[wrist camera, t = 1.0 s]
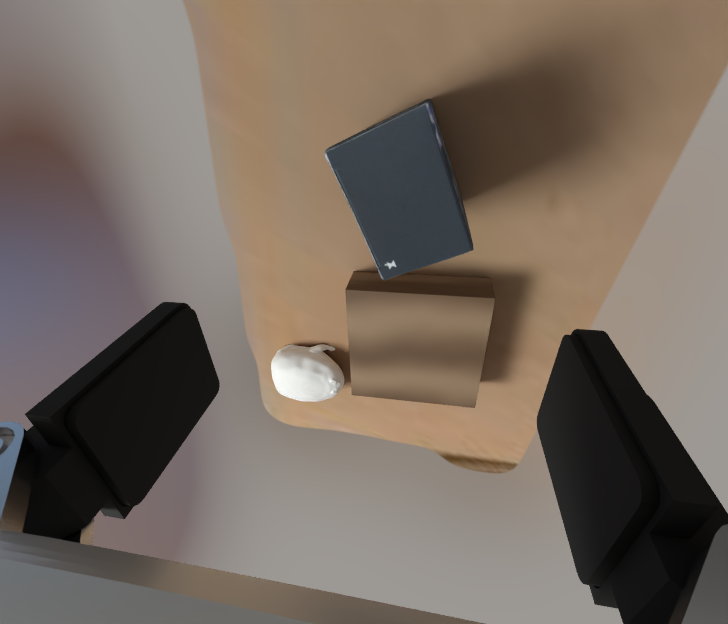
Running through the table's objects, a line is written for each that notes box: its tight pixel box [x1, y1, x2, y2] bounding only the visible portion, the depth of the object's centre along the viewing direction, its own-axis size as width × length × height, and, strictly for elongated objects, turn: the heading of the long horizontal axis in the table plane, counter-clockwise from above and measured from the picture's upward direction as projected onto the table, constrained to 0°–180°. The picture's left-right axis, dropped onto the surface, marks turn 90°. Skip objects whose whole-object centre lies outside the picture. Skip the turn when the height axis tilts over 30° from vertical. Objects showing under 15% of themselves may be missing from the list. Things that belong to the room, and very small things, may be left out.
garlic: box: [271, 344, 344, 402], centre depth 39 cm, size 8×7×4 cm
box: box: [325, 99, 473, 280], centre depth 23 cm, size 8×6×11 cm
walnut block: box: [345, 271, 495, 408], centre depth 34 cm, size 12×12×4 cm
